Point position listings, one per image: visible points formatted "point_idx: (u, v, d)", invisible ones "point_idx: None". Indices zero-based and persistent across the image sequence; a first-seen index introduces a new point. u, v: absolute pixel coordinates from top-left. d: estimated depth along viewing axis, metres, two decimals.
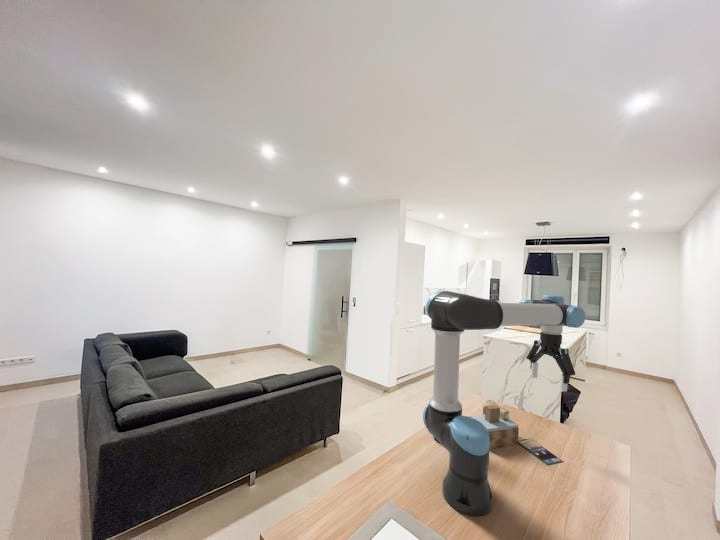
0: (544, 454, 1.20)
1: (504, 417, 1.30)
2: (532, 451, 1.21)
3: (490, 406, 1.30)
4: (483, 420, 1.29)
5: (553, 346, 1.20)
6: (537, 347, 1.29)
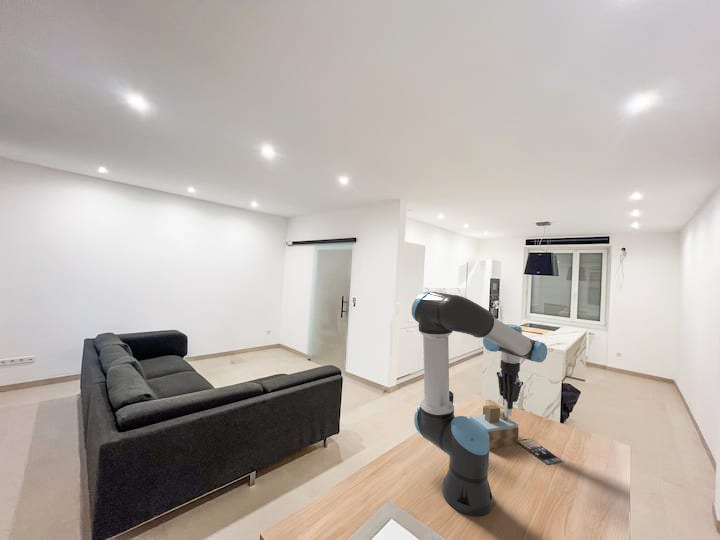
0: (544, 454, 1.20)
1: (504, 417, 1.30)
2: (532, 451, 1.21)
3: (490, 406, 1.30)
4: (483, 420, 1.29)
5: (513, 374, 1.26)
6: (502, 378, 1.33)
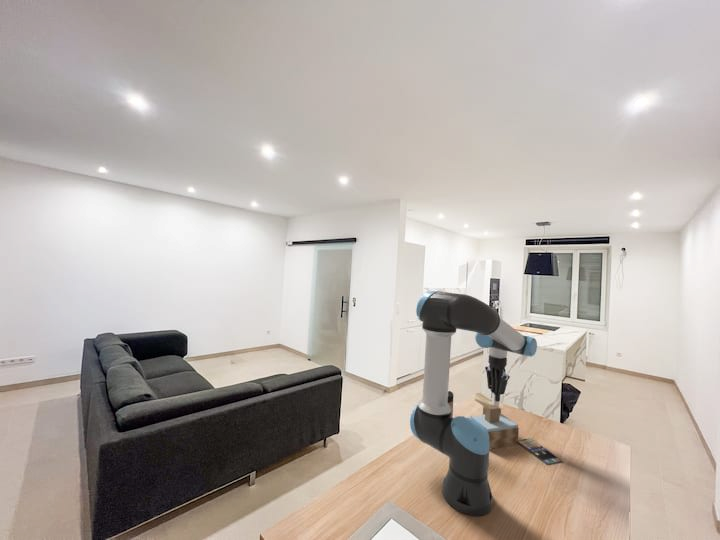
0: (544, 454, 1.20)
1: None
2: (532, 451, 1.21)
3: (490, 406, 1.30)
4: (483, 420, 1.29)
5: (500, 368, 1.33)
6: (490, 372, 1.40)
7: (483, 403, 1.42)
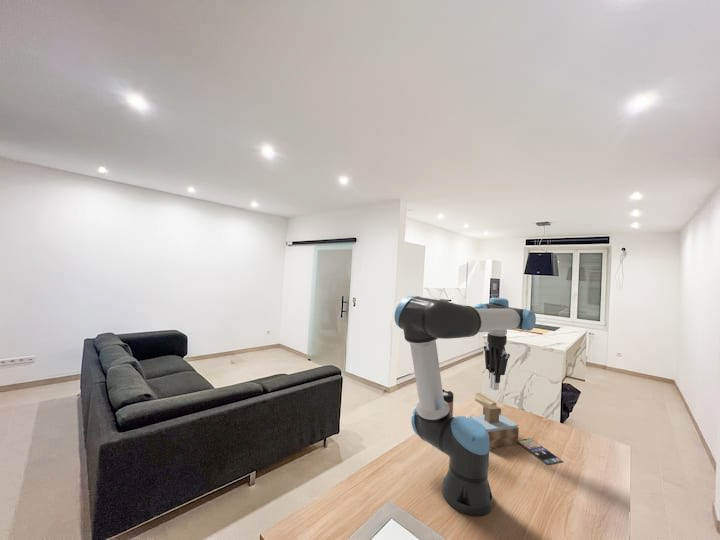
0: (544, 454, 1.20)
1: None
2: (532, 451, 1.22)
3: (490, 406, 1.29)
4: (482, 420, 1.29)
5: (499, 347, 1.26)
6: (489, 352, 1.33)
7: (483, 403, 1.42)
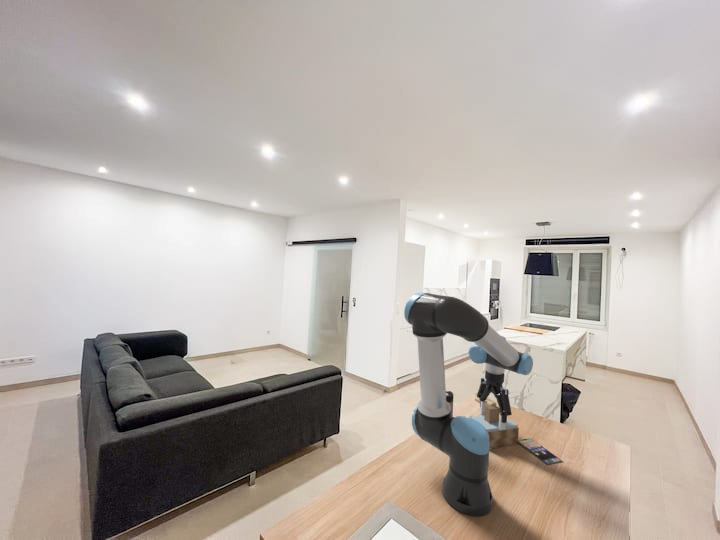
0: (544, 454, 1.20)
1: None
2: (532, 451, 1.22)
3: (490, 406, 1.29)
4: (482, 420, 1.29)
5: (496, 385, 1.26)
6: (484, 385, 1.35)
7: None
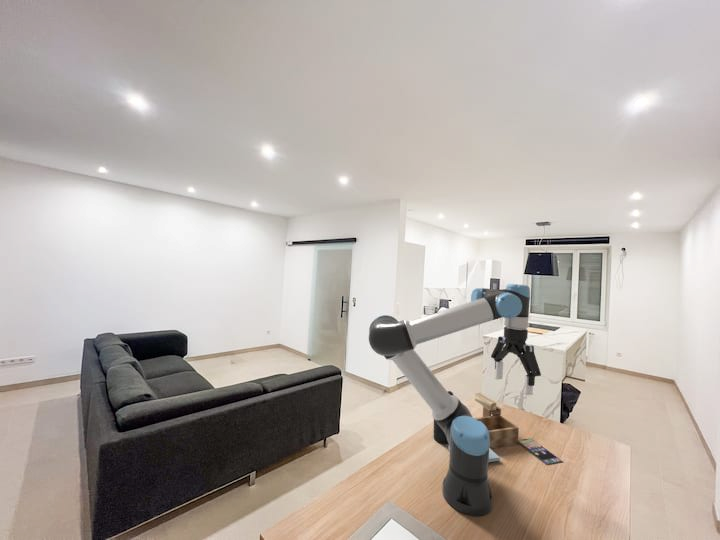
0: (544, 454, 1.20)
1: (491, 409, 1.37)
2: (532, 451, 1.22)
3: None
4: None
5: (517, 343, 1.05)
6: (502, 344, 1.14)
7: (483, 403, 1.42)
